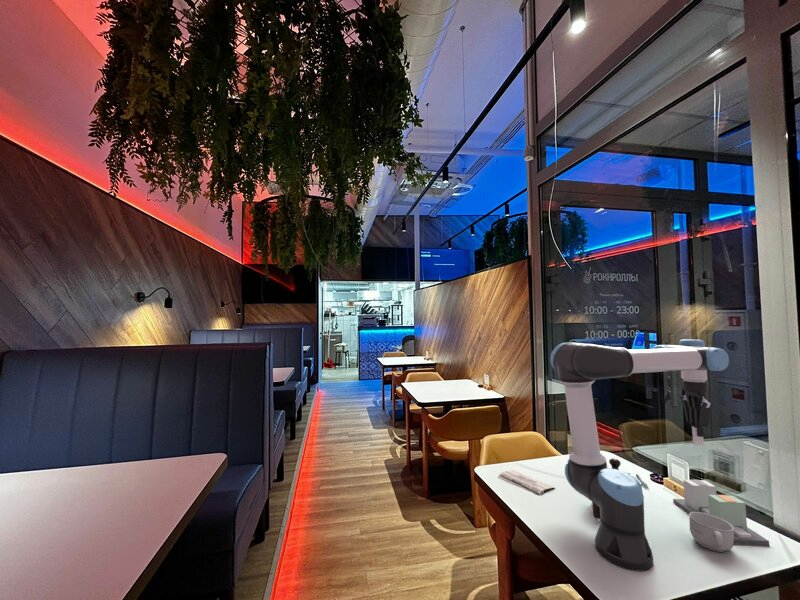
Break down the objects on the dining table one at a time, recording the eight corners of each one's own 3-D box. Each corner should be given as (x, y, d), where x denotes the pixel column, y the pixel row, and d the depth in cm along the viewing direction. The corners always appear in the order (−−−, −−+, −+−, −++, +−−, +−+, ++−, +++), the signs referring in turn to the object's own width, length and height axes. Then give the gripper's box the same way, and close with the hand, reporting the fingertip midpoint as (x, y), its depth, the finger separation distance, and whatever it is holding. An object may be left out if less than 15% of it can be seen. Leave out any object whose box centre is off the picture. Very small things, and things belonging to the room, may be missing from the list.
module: (721, 529, 117) (719, 501, 118) (709, 521, 122) (708, 494, 123) (747, 530, 116) (745, 502, 117) (734, 522, 121) (732, 495, 122)
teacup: (690, 531, 118) (688, 507, 119) (733, 544, 111) (732, 518, 112) (690, 552, 107) (689, 525, 108) (739, 567, 100) (737, 539, 101)
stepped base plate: (728, 543, 112) (726, 509, 112) (673, 502, 137) (671, 475, 138) (769, 545, 110) (766, 511, 111) (705, 504, 136) (704, 476, 137)
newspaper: (496, 478, 161) (496, 472, 161) (514, 475, 167) (514, 469, 167) (538, 498, 142) (538, 492, 142) (556, 493, 148) (556, 487, 148)
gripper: (719, 383, 123) (723, 451, 121) (692, 378, 136) (696, 439, 134) (696, 383, 124) (700, 450, 122) (671, 377, 137) (675, 438, 135)
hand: (698, 444), depth 128 cm, fingers closed
